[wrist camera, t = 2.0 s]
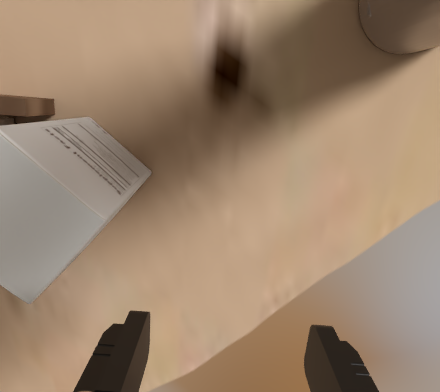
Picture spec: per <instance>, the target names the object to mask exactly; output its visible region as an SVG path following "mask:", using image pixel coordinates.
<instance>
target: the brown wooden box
mask: <svg viewBox="0 0 440 392" xmlns="http://www.w3.org/2000/svg"><path fill="white" fill-rule="evenodd" d="M0 114H1V115H13V116H25V117H28V116H40V115H53V114H55V109H54V99H46V98H35V97H23V96H11V95H0Z"/></svg>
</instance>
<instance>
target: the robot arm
mask: <svg viewBox="0 0 440 392" xmlns="http://www.w3.org/2000/svg"><path fill="white" fill-rule="evenodd" d="M359 14H360V21H361V24H362V27H363V30H364V31H365V33H366V35H367V36H368V38H369V39H370V40H371V41H372V42H373V43H374V44H375V45H376V46H377V47H379V48H380V49H382V50H384V51H387V52H390V53H393V54H408V53H414V52H418V51H422V50H426V49H430V48H434V47H438V46H440V0H359ZM149 345H150V312H144V311H130V312H129V314H128V316H127V318H126V320H125V323H124V324H113V325H112V326H111V327H109V328H108V329H107V330H106V331H105V332H104V333H103V335H102V337H101V338H100V340H99V342H98V345H97V346H96V348H95V350H94V352H93V355H92V356H91V358H90V360H89V362H88V364H87V366H86V368H85V370H84V372H83V374H82V376H81V378H80V379H79V381H78V383H77V385H76V387H75V389H74V391H73V392H139V388H140V385H141V381H142V378H143V374H144V371H145V367H146V364H147V360H148V354H149ZM304 368H305V374H306V378H307V381H308V384H309V388H310V391H311V392H379V391H378V389H377V387H376V385H375V383H374V382H373V380H372V378H371V377H370V376H369V372H368V370H367V369H366V367H365V366H364V363H363V361H362V359H361V358H360V355H359V354H358V352H357V351H356V350H355V349H354V348H353V347H352V346H351V345H350V344H349V343H348V342H347V341H340V340H339V338H338V336H337V334H336V332H335V330H334V328H333V327H332V326H324V325H312V326H311V327H310V332H309V337H308V342H307V347H306V353H305V358H304Z"/></svg>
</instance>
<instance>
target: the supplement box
mask: <svg viewBox="0 0 440 392" xmlns="http://www.w3.org/2000/svg"><path fill="white" fill-rule="evenodd" d="M151 174H152V172H151V171H150V170H149V169H148V168H147V167H146V166H145V165H144V164H143V163H141V162H140V161H139V160H138V159H137V158H136V157H135V156H133V155H132V154H131V153H130V152H129V151H128V150H127V149H125V148H124V147H123V146H122V145H121V144H120V143H119V142H118V141H116V140H115V139H114V138H113V137H112V136H111V135H110V134H108V133H107V132H106V131H105V130H104V129H103V128H102V127H100V126H99V125H98V124H97V123H96V122H95V121H94V120H93V119H91V118H90V117H81V118H71V119H61V120H52V121H42V122H33V123H22V124H12V125H2V126H0V285H1V286H3V287H4V288H5V289H7V290H8V291H10V292H11V293H12V294H14V295H15V296H17V297H18V298H20V299H22V300H23V301H25V302H26V303H28V304H31V303H32V302H33V301H34V300H35V299H36V298H37V297H38V296H39V295H40V294H41V293H42V292H43V291H44V290H45V289H46V288H47V287H48V286H49V285H50V284H51V283H52V282H53V281H54V280H55V279H56V278H57V277H58V276H59V275H60V274H61V273H62V272H63V271H64V270H65V269H66V268H67V267H68V266H69V265H70V264H71V263H72V262H73V261H74V260H75V258H76V257H77V256H78V255H79V254H80V253H81V252H82V251H83V250H84V249H85V248H86V247H87V246H88V245H89V244H90V243H91V242H92V240H93V239H94V238H95V237H96V236H97V235H98V234H99V233H100V232H101V231H102V230H103V229H104V227H105V226H106V225H107V224H108V223H109V222H110V221H111V220H112V219H113V218H114V216H115V215H116V214H117V213H118V212H119V211H120V210H121V208H122V207H123V206H124V205H125V204H126V203H127V202H128V200H129V199H130V198H131V197H132V196H133V195H134V193H135V192H136V191H137V190H138V189H139V188H140V186H141V185H142V184H143V183H144V182H145V181H146V180H147V179H148V177H149V176H150V175H151Z"/></svg>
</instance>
